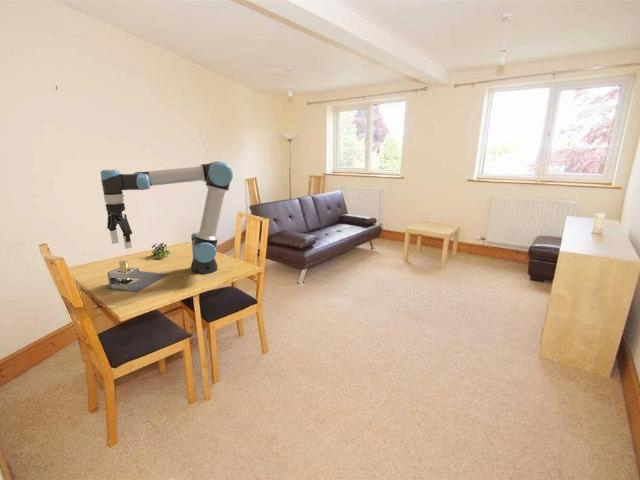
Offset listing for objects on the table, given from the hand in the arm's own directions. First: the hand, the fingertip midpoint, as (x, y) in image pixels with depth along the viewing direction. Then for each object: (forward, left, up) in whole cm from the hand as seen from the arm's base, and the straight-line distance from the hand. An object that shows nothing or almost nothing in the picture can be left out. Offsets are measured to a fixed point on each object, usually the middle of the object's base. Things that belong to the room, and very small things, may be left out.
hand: (121, 245), depth 153 cm
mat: (-1, -7, -22) cm, 23 cm away
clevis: (0, 0, -22) cm, 22 cm away
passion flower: (+14, -47, -22) cm, 54 cm away
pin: (0, 0, -22) cm, 22 cm away
